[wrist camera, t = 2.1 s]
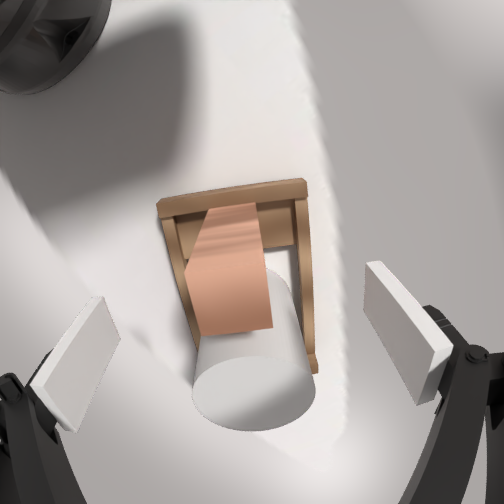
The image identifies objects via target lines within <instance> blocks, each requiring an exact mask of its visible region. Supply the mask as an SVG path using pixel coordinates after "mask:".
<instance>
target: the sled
mask: <svg viewBox="0 0 504 504" xmlns="http://www.w3.org/2000/svg"><path fill="white" fill-rule="evenodd" d="M307 197H308V191H307V182H306V181H305V180H304V179H303V178H297V179H288V180H280V181H272V182H264V183H256V184H249V185H242V186H235V187H228V188H221V189H215V190H209V191H203V192H197V193H191V194H185V195H179V196H174V197H168V198H163V199H161V200H160V201H159V202H158V203H156V206H157V211H158V215H159V218H161V221H162V226H163V230H164V234H165V238H166V242H167V246H168V250H169V254H170V258H171V262H172V266H173V270H174V273H175V277H176V281H177V284H178V288H179V292H180V295H181V299H182V302H183V306H184V309H185V312H186V316H187V319H188V322H189V326H190V329H191V332H192V335H193V339H194V342H195V345H196V348H197V351H199V345H200V339H201V336H209V335H219V334H229V333H238V332H246V331H255V330H262V329H270V328H273V321H272V313H271V305H270V297H269V289H268V281H267V273H266V266H265V259H264V253H263V249H264V248H271V247H279V246H286V245H293V244H297V255H298V268H299V282H300V296H301V312H302V330H303V341H304V345H305V349H306V353H307V357H308V360H309V364H310V368H311V372H312V374H316V373H318V363H317V359H316V356H315V330H314V298H313V276H312V257H311V241H310V227H309V214H308V202H307ZM187 259H189V261H188V263H187Z"/></svg>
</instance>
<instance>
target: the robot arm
mask: <svg viewBox="0 0 504 504" xmlns="http://www.w3.org/2000/svg"><path fill="white" fill-rule="evenodd" d="M110 5H111V0H0V91H2V92H5V93H9V94H33V93H37V92H40V91H43V90H45V89H47V88H49V87H51V86H53V85H54V84H56V83H57V82H59V81H60V80H61V79H63V78H64V77H65V76H66V75H68V74H69V73H70V72H71V71H72V70H73V69H74V68H75V67H76V66H77V65H78V64H79V63H80V62H81V61H82V59H83V58H84V57H85V56H86V54H87V53H88V52H89V50H90V49H91V48H92V46H93V45H94V43H95V41H96V40H97V38H98V36H99V35H100V33H101V31H102V29H103V26H104V24H105V22H106V19H107V16H108V13H109V10H110ZM364 312H365V314H366V316H367V317H368V319H369V321H370V322H371V324H372V326H373V328H374V329H375V331H376V333H377V334H378V336H379V338H380V339H381V341H382V343H383V345H384V347H385V348H386V350H387V352H388V354H389V356H390V357H391V359H392V361H393V363H394V364H395V366H396V368H397V370H398V372H399V374H400V375H401V377H402V379H403V381H404V383H405V385H406V387H407V388H408V391H409V393H410V394H411V396H412V398H413V400H414V402H415V404H416V406H418V405H420V404H423V403H426V402H429V401H432V400H434V397H435V395H436V393H437V390H439V392H440V394H441V396H442V398H441V400H440V403H439V405H438V407H437V409H436V411H435V414H436V416H435V419H434V422H433V425H432V428H431V430H430V433H429V436H428V439H427V442H426V444H425V447H424V449H423V451H422V454H421V457H420V459H419V461H418V464H417V466H416V468H415V470H414V473H413V475H412V477H411V479H410V481H409V483H408V486H407V488H406V490H405V492H404V494H403V496H402V498H401V500H400V501H399V503H398V504H461V502H462V499H463V497H464V494H465V491H466V488H467V485H468V482H469V478H470V475H471V472H472V469H473V465H474V461H475V458H476V454H477V450H478V446H479V441H480V436H481V432H482V427H483V421H484V416H485V421H486V436H487V483H486V484H487V485H486V499H485V504H504V352H502V353H493V354H489V352H488V351H487V350H486V349H485V348H483V347H481V346H478V345H469V344H468V343H467V341H466V340H465V339H464V338H463V337H462V336H461V334H460V333H459V332H458V331H457V330H456V329H455V327H454V326H453V325H451V323H450V322H449V321H448V319H446V317H445V316H444V315H443V314H442V313H441V312H440V311H439V310H438V309H436V308H434V307H432V306H431V305H428V306H424V307H421V305H420V304H419V303H418V302H417V301H416V300H415V299H414V297H413V296H412V295H411V294H410V293H409V292H408V291H407V289H406V288H405V287H404V286H403V285H402V284H401V283H400V282H399V281H398V280H397V278H396V277H395V276H394V275H393V274H392V273H391V272H390V271H389V270H388V269H387V268H386V266H385V265H384V264H383V263H382V262H381V261H373V262H367V263H366V269H365V295H364ZM119 341H120V336H119V334H118V331H117V329H116V327H115V324H114V322H113V319H112V317H111V315H110V312H109V310H108V307H107V305H106V302H105V299H104V297H103V296H102V297H92V298H91V299H90V300H89V302H88V303H87V304H86V305H85V307H84V308H83V309H82V311H81V312H80V313H79V315H78V316H77V317H76V319H75V320H74V321H73V323H72V324H71V325H70V327H69V328H68V330H67V331H66V332H65V334H64V335H63V336H62V338H61V339H60V341H59V342H58V344H57V345H56V346H55V348H53V349H52V350H51V351H50V352H49V353H48V354H47V355H46V356H45V357H44V359H43V360H42V362H41V364H40V365H39V366H38V369H36V371H35V372H34V374H33V375H32V377H31V378H30V380H29V381H28V383H27V384H26V386H25V387H24V386H23V385H22V384H21V382H20V381H19V379H18V378H17V376H16V375H15V374H14V373H7V374H4V375H2V376H1V377H0V398H1V399H2V400H1V401H0V439H1V442H0V504H87V503H86V501H85V499H84V496H83V494H82V492H81V490H80V488H79V485H78V483H77V481H76V478H75V476H74V474H73V471H72V469H71V466H70V464H69V461H68V458H67V456H66V453H65V450H64V447H63V444H62V441H61V438H60V436H59V432H58V431H57V429H56V428H55V425H56V423H57V422H58V423H59V424H60V426H61V427H62V428H63V429H64V430H66V431H72V432H78V431H79V428H80V426H81V423H82V421H83V419H84V416H85V414H86V411H87V409H88V407H89V405H90V403H91V400H92V398H93V396H94V393H95V392H96V389H97V387H98V385H99V383H100V381H101V378H102V376H103V374H104V372H105V370H106V368H107V366H108V364H109V362H110V360H111V358H112V356H113V354H114V352H115V349H116V347H117V345H118V343H119Z"/></svg>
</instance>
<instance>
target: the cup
mask: <svg viewBox="0 0 504 504" xmlns="http://www.w3.org/2000/svg"><path fill="white" fill-rule="evenodd" d="M266 273H267V281H268V289H269V297H270V305H271V313H272V321H273V328H270V329H262V330H255V331H246V332H238V333H229V334H219V335H209V336H201V339H200V345H199V351H198V357H197V363H196V369H195V376H194V382H193V388H192V399H193V402H194V405H195V407H196V408H197V410H198V411H199V412H200V413H201V414H202V415H203V416H204V417H206V418H207V419H208V420H210V421H211V422H213V423H215V424H217V425H220V426H222V427H226V428H229V429H233V430H240V431H264V430H270V429H274V428H278V427H281V426H284V425H286V424H288V423H291V422H292V421H294V420H296V419H298V418H299V417H300V416H302V415H303V414H304V413H305V412H306V411H307V410H308V409H309V407H310V406H311V404H312V403H313V400H314V398H315V384H314V380H313V376H312V372H311V368H310V364H309V360H308V357H307V353H306V349H305V345H304V341H303V337H302V333H301V330H300V326H299V322H298V318H297V314H296V311H295V307H294V303H293V300H292V296H291V292H290V289H289V287H288V285H287V283H286V282H285V281H284V279H283V278H282V277H281V276H280V275H278V274H277V273H276V272H274V271H272V270H270V269H268V268H266Z"/></svg>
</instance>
